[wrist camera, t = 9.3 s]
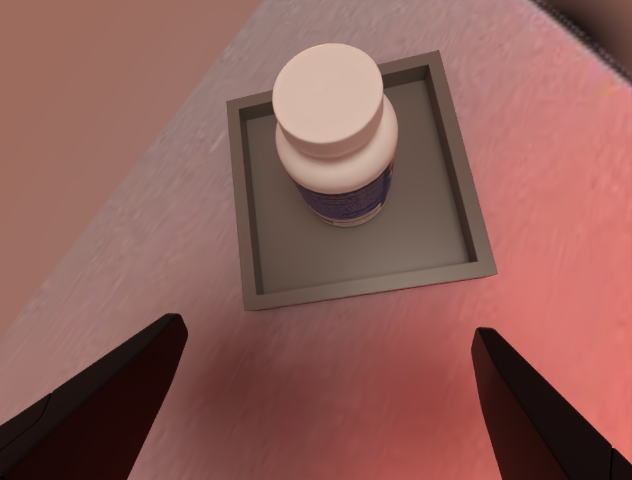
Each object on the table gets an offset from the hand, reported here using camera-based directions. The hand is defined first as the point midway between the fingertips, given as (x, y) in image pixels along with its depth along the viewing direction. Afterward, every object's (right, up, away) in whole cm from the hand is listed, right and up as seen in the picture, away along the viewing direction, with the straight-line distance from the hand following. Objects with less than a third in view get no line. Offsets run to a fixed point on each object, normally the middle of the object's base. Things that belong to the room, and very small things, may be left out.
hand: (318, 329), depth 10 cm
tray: (+2, +6, +12) cm, 13 cm away
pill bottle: (+2, +6, +11) cm, 13 cm away
